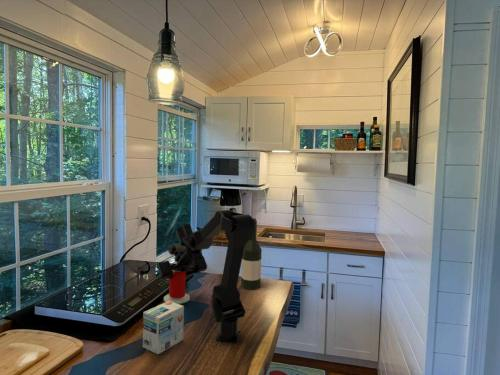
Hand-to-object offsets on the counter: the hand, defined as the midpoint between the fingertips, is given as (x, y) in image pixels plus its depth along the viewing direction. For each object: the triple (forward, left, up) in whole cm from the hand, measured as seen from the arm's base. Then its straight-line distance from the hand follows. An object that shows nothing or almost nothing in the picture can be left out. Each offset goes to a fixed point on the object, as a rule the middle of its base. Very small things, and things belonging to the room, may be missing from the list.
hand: (175, 277), depth 139 cm
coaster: (-1, -1, -8) cm, 8 cm away
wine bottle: (+19, -27, -8) cm, 34 cm away
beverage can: (-1, -1, -8) cm, 8 cm away
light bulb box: (-33, -9, -9) cm, 35 cm away
